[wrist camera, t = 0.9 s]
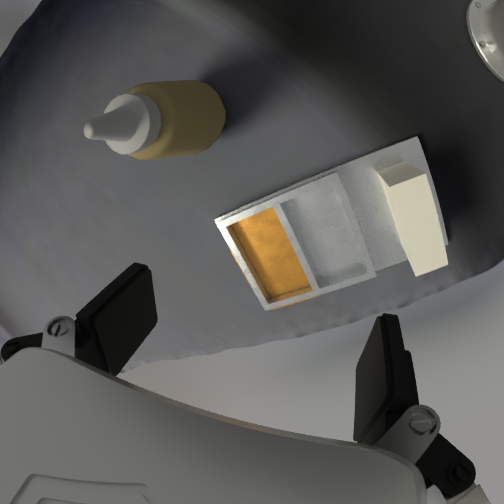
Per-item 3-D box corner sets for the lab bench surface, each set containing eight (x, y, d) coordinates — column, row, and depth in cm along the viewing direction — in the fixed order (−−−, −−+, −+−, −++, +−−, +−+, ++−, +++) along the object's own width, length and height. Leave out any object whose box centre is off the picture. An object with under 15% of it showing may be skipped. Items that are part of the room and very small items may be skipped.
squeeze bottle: (250, 125, 30) (164, 140, 15) (194, 163, 34) (88, 212, 18) (211, 69, 28) (102, 42, 13) (159, 110, 32) (40, 125, 16)
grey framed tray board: (415, 135, 26) (422, 137, 24) (446, 241, 30) (452, 250, 28) (216, 217, 36) (209, 224, 34) (263, 302, 40) (259, 313, 38)
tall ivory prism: (406, 160, 27) (425, 173, 21) (428, 235, 29) (448, 264, 23) (376, 171, 28) (389, 187, 22) (402, 245, 31) (415, 276, 25)
